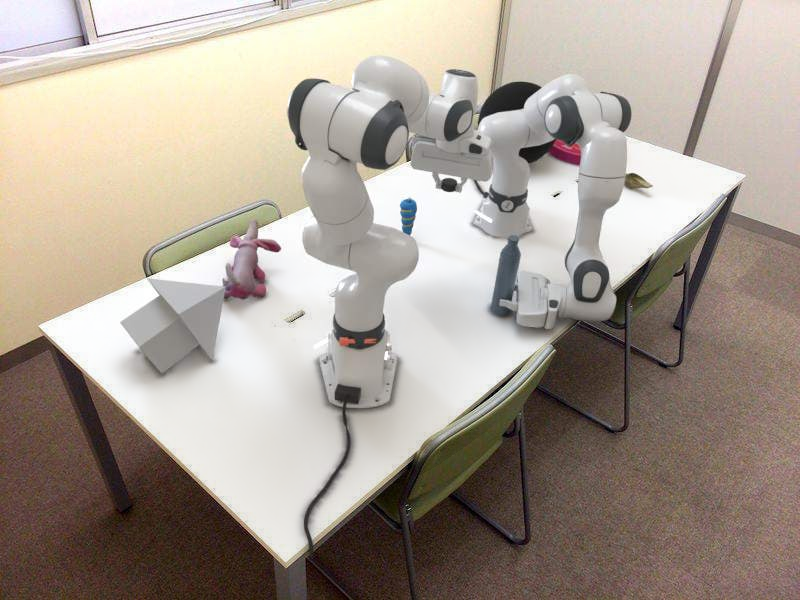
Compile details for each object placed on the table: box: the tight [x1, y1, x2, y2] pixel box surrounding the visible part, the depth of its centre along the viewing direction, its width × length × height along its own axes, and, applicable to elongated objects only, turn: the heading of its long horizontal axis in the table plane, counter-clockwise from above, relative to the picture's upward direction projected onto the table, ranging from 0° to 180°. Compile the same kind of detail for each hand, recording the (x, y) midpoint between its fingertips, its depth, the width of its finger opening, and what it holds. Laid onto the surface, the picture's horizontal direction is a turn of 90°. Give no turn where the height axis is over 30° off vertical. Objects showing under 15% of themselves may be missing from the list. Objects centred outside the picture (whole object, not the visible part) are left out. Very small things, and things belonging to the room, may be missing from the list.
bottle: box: [490, 235, 522, 317], centre depth 171 cm, size 5×5×23 cm
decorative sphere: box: [477, 80, 556, 165], centre depth 243 cm, size 30×30×30 cm
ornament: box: [399, 195, 418, 236], centre depth 199 cm, size 5×5×15 cm
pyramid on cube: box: [119, 277, 226, 374], centre depth 156 cm, size 17×24×18 cm
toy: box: [221, 218, 282, 301], centre depth 179 cm, size 19×24×15 cm
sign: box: [548, 139, 581, 166], centre depth 263 cm, size 30×4×30 cm
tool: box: [624, 172, 654, 189], centre depth 240 cm, size 22×6×5 cm, turn 26°
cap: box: [440, 177, 458, 193], centre depth 164 cm, size 4×4×2 cm
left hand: (448, 189), depth 165 cm, fingers closed on cap, 4 cm apart
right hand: (499, 294), depth 175 cm, fingers closed on bottle, 5 cm apart
